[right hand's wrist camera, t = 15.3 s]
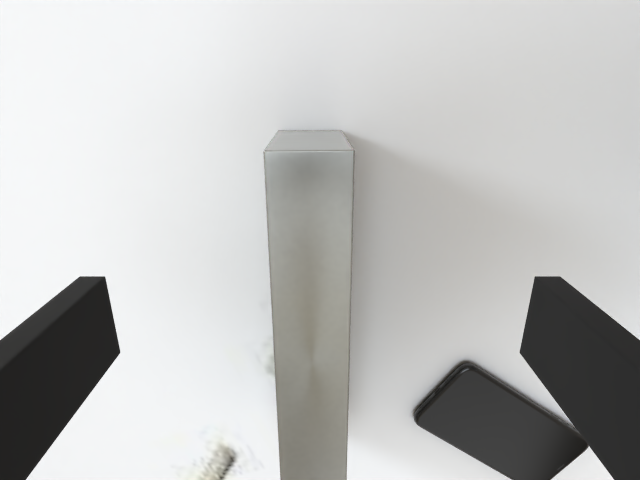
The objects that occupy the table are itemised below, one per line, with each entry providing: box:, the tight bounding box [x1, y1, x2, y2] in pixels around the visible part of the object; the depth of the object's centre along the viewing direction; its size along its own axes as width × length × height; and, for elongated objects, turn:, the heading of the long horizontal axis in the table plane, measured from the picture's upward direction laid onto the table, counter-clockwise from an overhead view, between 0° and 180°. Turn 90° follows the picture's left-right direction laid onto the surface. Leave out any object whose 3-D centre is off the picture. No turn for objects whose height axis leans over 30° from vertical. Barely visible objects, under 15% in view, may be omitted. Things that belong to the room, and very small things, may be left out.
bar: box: [264, 130, 355, 480], centre depth 29 cm, size 25×4×9 cm, turn 0°
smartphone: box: [414, 363, 589, 480], centre depth 38 cm, size 8×1×16 cm
